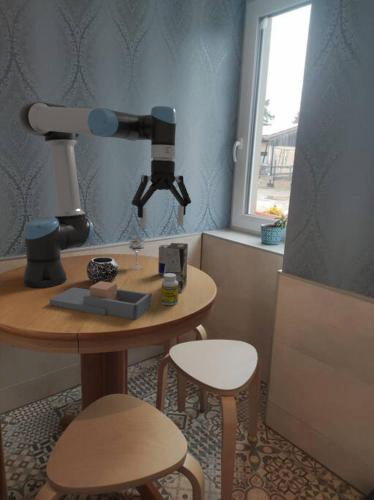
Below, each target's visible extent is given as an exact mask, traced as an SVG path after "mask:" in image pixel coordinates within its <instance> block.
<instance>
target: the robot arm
mask: <svg viewBox="0 0 374 500" xmlns="http://www.w3.org/2000/svg"><path fill="white" fill-rule="evenodd" d="M150 111H151V112H150V114H142V115H141V114H139V115H138V114H133V113H130V112H129V113H128V112H124V111H122V112H121V111H117V110H112V109H110V108H103V107H96V108H80V107H69V106H67V105H63V104H57V103H56V104H54V103H50V102H44V101H39V100H33V101H32V100H31V101H27V102H25V103H24V104H23V105H22V106H20V109H19V111H18V120H19V124H20V125H21V127H22V128H23V129H24V130H25V131H26V132H28V134H32V135H34V136H37V137H38V136H39V137H44V143H45V144H46V145H47V146H48V147H49V149H50V157H51V166H52V173H53V181H54V187H55V197H56V203H57V204H56V205H57V212H56V213H55V214H54V217H51V216H50V217H41V218H35V219H31V220H29V221H28V222H26V223H25V225H24V228H23V229H24V232H23V233H24V234H23V236H24V242H25V253H26V266H25V270H24V274H23V277H22V279H23V282H22V283H23V285H24V284H25V285H24V286H26V287H30V288H50V287H55V286H58V285H61V284H64V283H65V282H67V279H68V278H67V272H66V270H65V269H64V266H63V264H62V261H61V251H62V252H63V251H65V250H69V249H75V248H81V247H83V246H86V245H88V244H89V243H90V242H91V240H92V238H93V236H94V229H95V228H94V225H93V222H92V221H91V219H90V218H89V217H87V216H86V212H85V211H84V210H83V209H82V207H81V198H80V191H79V190H80V189H79V179H78V172H77V162H76V156H75V146H76V144H77V143H78V138H80V136H81V135H86V136H87V135H88V136H96V137H101V138H115V139H124V140H126V141H127V140H128V141H147V140H148V141H150V142H151V143H150V158H151V161H150V176H149V175H146V174H142V175H141V178H140V183H139V184H138V187H137V190H136V192H135V194H134V196H133V198H132V201H131V205H132V206H135V207H137V208H136V209H137V217H138V218H139V224H140V226H139V227H140V228H141V229H146V226H147V225H146V224H147V222H146V219H147V218H146V217H147V214H146V213H147V208H146V207H145V205H146V203H148V202H149V200H150V198H151V197H153V195H154V193H155V192H156V191H158V190H159V191H163V190H166V191H170V193H171V194H172V195H173V196H174V198H175V200H176V201H177V202H178V205H177V221H176V222H177V223H176V224H177V226H180V227H183V226H184V216H185V215H186V208H187V206H188V205H191V203H192V200H191V197H190V194H189V193H188V190H187V187H186V185H185V182H184V175H179V174H178V175H176V176H175V172H176V162H175V161H174V159H175V158H176V130H177V129H176V128H177V122H176V120H177V118H176V110H175V108H173V107H172V106H167V105H166V106H165V105H164V106H162V105H155V106H153V107H152V108H151V109H150ZM149 182H151V184H150V186H148V183H149ZM174 183H176V184H177V187H178V189H179V191H178V190H177V187H176V186H175V184H174ZM146 187H148V189H147V190H146ZM145 190H146V192H145ZM144 192H145V193H144Z"/></svg>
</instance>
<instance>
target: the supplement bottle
mask: <svg viewBox="0 0 374 500" xmlns="http://www.w3.org/2000/svg"><path fill="white" fill-rule="evenodd" d="M161 303H162V304H163V305H165V306H174V305H176V304H178V303H179V292H178V282H177V281H176V274H173V273H166V274H164V276H163V280H162V281H161Z"/></svg>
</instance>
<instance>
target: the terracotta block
mask: <svg viewBox="0 0 374 500" xmlns="http://www.w3.org/2000/svg"><path fill="white" fill-rule="evenodd" d="M117 289H118V284H117V283H115V282H108V281H102V280H100V281H98V282H96V283H95V284H92V285H91V286H89V290H90V296H93V297H99V298H105V299H111V300H115V299H117Z"/></svg>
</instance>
